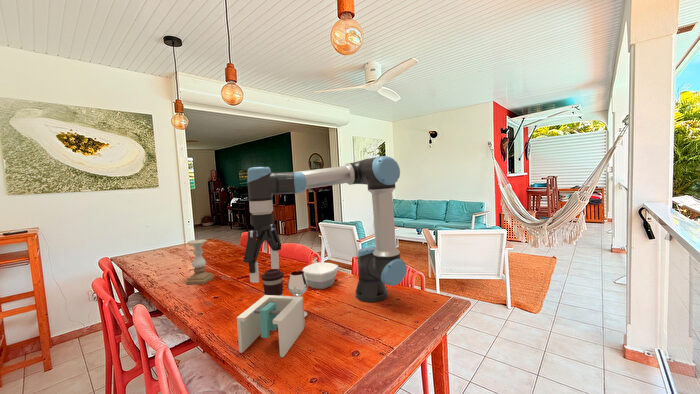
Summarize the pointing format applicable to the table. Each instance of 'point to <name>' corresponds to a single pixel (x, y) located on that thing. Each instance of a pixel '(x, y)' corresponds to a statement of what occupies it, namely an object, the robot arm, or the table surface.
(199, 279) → the candle holder
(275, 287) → the coffee cup
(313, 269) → the bowl
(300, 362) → the table surface
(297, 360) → the table surface
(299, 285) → the wineglass
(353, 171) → the robot arm
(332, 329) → the table surface
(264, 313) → the teal u-shaped bracket
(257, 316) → the white c-frame
